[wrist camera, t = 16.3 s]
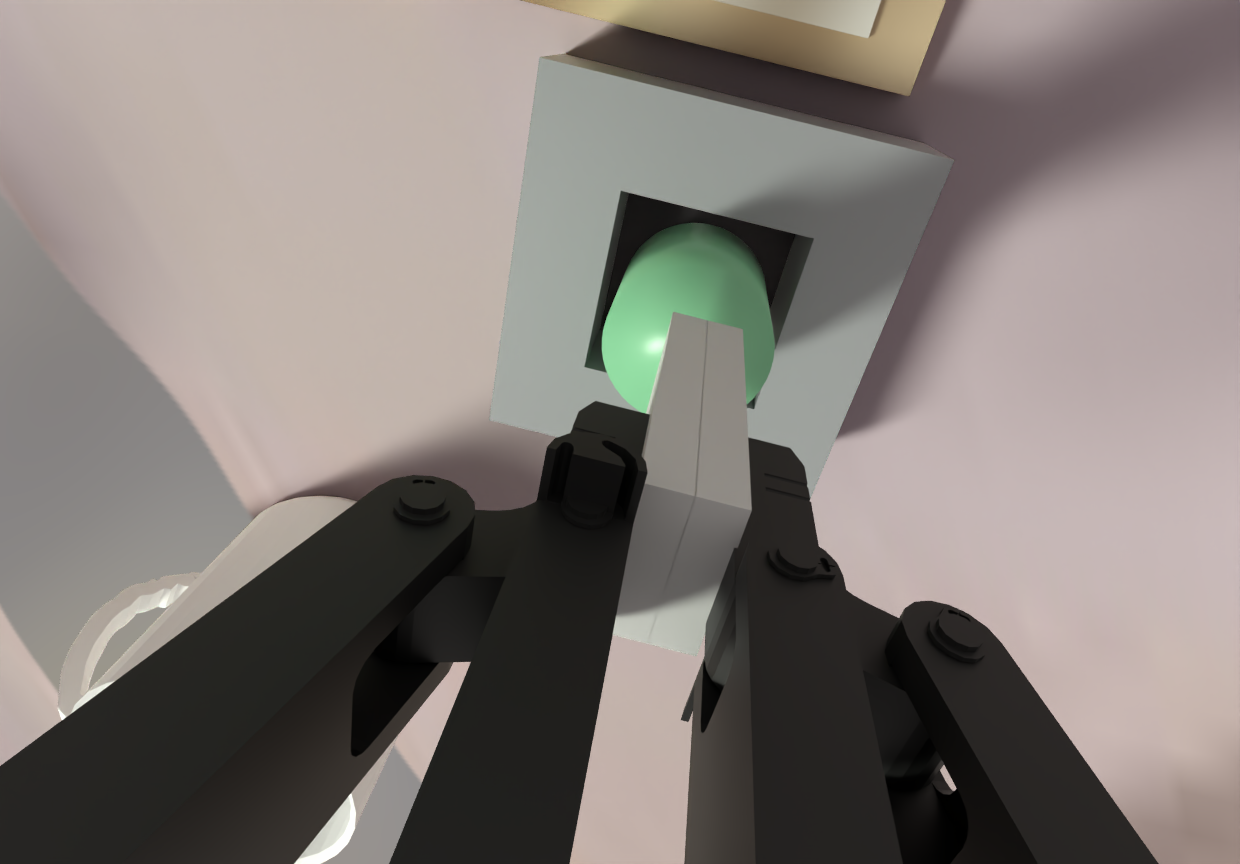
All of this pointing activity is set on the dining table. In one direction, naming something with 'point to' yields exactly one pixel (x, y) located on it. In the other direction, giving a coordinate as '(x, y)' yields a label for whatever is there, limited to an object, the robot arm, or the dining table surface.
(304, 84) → the dining table surface
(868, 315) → the button base
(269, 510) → the mug
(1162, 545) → the dining table surface
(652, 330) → the button
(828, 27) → the clipboard
